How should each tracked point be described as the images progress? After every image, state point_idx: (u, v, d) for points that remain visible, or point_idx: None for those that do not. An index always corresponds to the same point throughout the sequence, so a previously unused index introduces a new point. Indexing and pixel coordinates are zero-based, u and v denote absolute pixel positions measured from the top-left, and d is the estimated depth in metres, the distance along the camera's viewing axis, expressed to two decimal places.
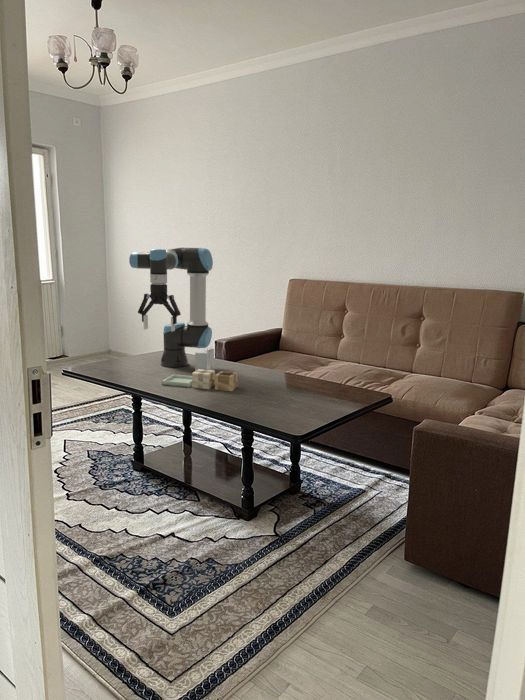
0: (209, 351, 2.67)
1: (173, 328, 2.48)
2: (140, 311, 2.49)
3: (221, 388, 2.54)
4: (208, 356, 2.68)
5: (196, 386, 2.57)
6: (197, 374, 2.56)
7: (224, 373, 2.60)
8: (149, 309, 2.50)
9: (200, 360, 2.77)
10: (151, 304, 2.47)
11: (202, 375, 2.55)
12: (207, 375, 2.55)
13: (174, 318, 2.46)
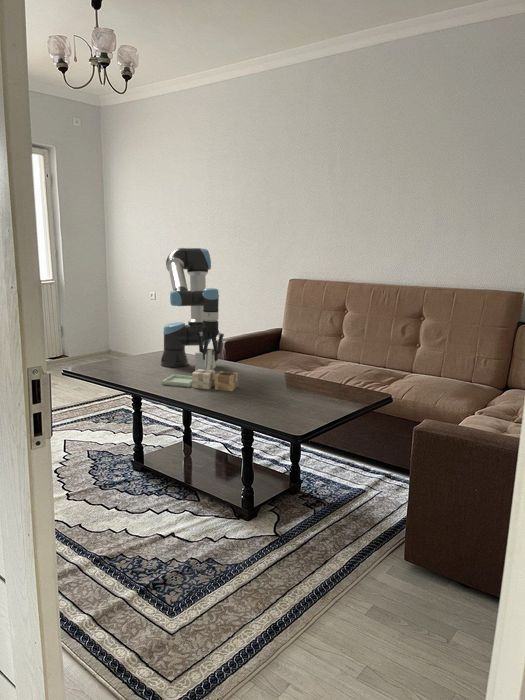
0: (209, 351, 2.67)
1: (214, 364, 2.69)
2: (201, 349, 2.68)
3: (221, 388, 2.54)
4: (208, 356, 2.68)
5: (196, 386, 2.57)
6: (197, 374, 2.56)
7: (224, 373, 2.60)
8: (207, 346, 2.70)
9: (200, 360, 2.77)
10: (207, 340, 2.67)
11: (202, 375, 2.55)
12: (207, 375, 2.55)
13: (216, 355, 2.68)
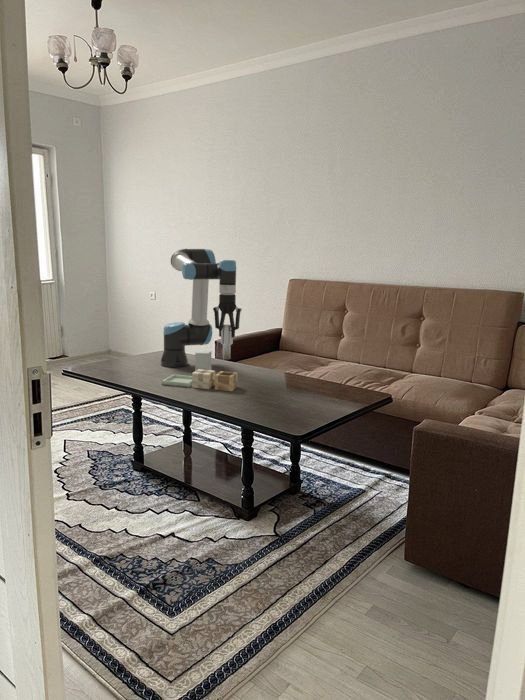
0: (226, 327, 2.51)
1: (231, 341, 2.53)
2: (217, 325, 2.52)
3: (221, 388, 2.54)
4: (224, 332, 2.52)
5: (196, 386, 2.57)
6: (197, 374, 2.56)
7: (224, 373, 2.60)
8: None
9: (200, 360, 2.77)
10: (223, 315, 2.50)
11: (202, 375, 2.55)
12: (207, 375, 2.55)
13: (233, 332, 2.52)
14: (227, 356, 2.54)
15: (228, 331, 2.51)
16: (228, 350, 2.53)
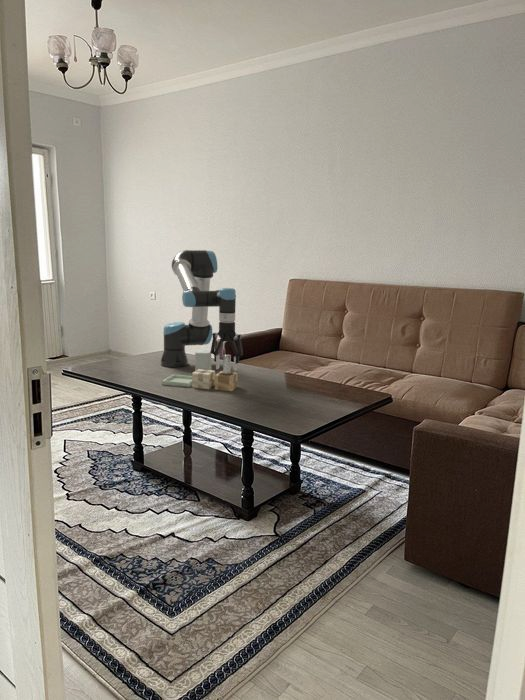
0: (226, 357, 2.54)
1: (235, 367, 2.55)
2: (212, 351, 2.55)
3: (221, 388, 2.54)
4: (224, 363, 2.54)
5: (196, 386, 2.57)
6: (197, 374, 2.56)
7: None
8: None
9: (200, 360, 2.77)
10: (221, 342, 2.53)
11: (202, 375, 2.55)
12: (207, 375, 2.55)
13: (237, 358, 2.53)
14: None
15: (228, 361, 2.54)
16: None
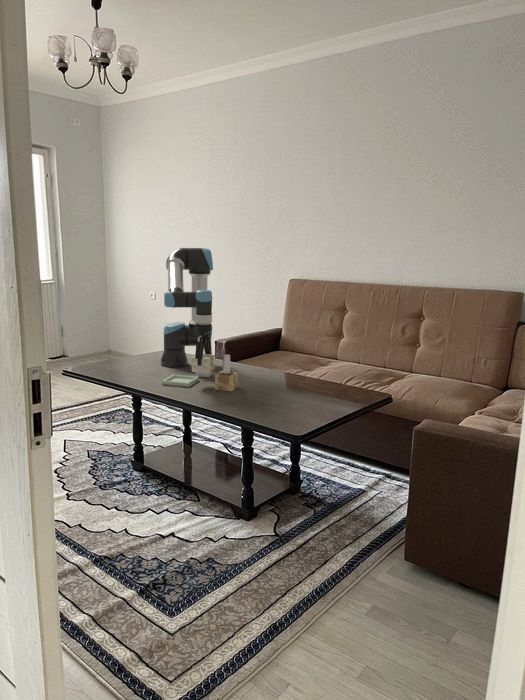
0: (225, 357, 2.54)
1: (199, 369, 2.55)
2: None
3: (221, 388, 2.54)
4: (224, 363, 2.54)
5: (196, 370, 2.56)
6: None
7: None
8: (208, 348, 2.61)
9: None
10: None
11: None
12: (207, 359, 2.54)
13: None
14: None
15: (227, 361, 2.54)
16: None
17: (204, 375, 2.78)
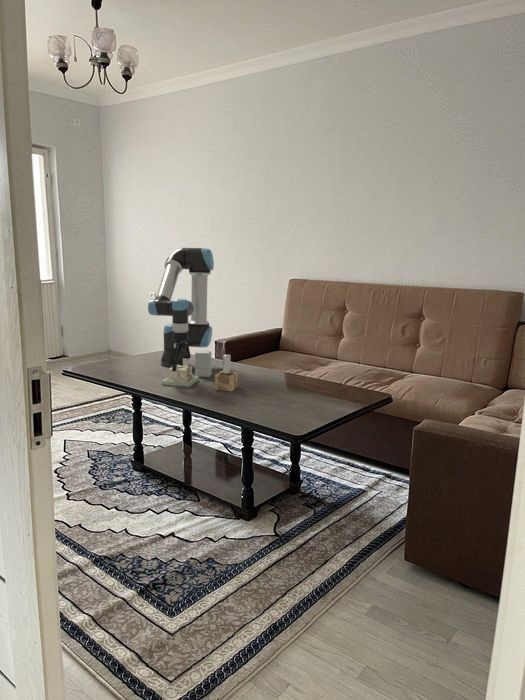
0: (225, 357, 2.54)
1: (174, 375, 2.58)
2: None
3: (221, 388, 2.54)
4: (224, 363, 2.55)
5: None
6: None
7: None
8: (186, 354, 2.68)
9: (200, 360, 2.77)
10: None
11: (179, 370, 2.60)
12: (183, 371, 2.60)
13: None
14: None
15: (228, 361, 2.54)
16: None
17: (204, 375, 2.78)
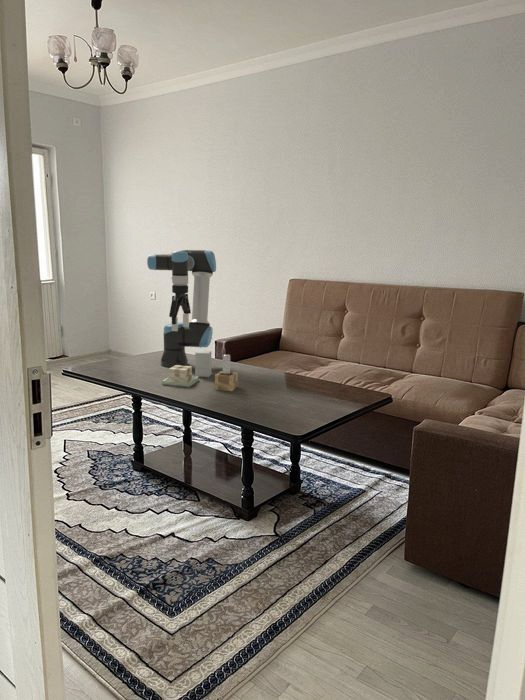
0: (225, 357, 2.54)
1: (173, 328, 2.54)
2: None
3: (221, 388, 2.54)
4: (224, 363, 2.55)
5: None
6: (174, 370, 2.61)
7: None
8: (186, 309, 2.64)
9: (200, 360, 2.77)
10: None
11: (179, 370, 2.60)
12: (183, 371, 2.60)
13: None
14: None
15: (227, 361, 2.54)
16: None
17: (204, 375, 2.78)
